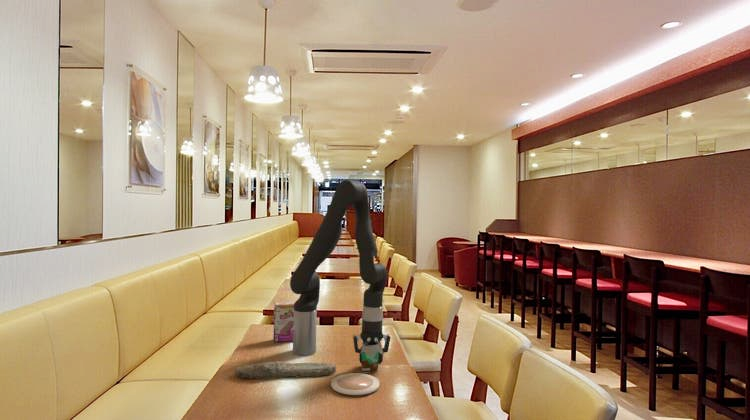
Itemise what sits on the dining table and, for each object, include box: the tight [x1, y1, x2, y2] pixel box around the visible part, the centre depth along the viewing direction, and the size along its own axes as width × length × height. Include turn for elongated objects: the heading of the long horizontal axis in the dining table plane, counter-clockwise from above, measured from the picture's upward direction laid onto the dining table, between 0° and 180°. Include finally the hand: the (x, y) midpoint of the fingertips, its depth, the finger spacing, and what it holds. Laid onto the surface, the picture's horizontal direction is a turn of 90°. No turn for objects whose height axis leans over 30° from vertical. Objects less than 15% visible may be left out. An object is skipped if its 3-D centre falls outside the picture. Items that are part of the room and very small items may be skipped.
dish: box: [330, 372, 380, 396], centre depth 147 cm, size 16×16×2 cm
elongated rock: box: [234, 360, 337, 380], centre depth 157 cm, size 35×5×10 cm
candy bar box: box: [272, 301, 296, 343], centre depth 195 cm, size 11×5×16 cm, turn 106°
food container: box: [361, 341, 383, 373], centre depth 163 cm, size 12×6×10 cm, turn 169°
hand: (370, 363), depth 163 cm, fingers closed on food container, 5 cm apart
